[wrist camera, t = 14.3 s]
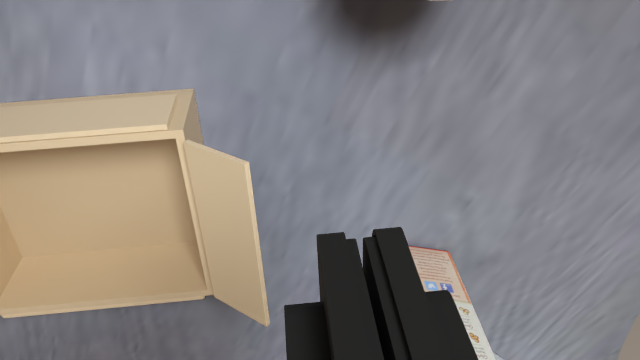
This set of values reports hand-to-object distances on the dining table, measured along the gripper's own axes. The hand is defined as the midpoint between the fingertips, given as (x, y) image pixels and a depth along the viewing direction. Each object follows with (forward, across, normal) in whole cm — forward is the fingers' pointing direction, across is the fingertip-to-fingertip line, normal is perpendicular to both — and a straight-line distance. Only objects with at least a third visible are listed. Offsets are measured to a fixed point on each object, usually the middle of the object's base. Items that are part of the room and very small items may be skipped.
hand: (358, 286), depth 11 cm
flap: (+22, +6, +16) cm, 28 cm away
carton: (+32, +17, +16) cm, 40 cm away
